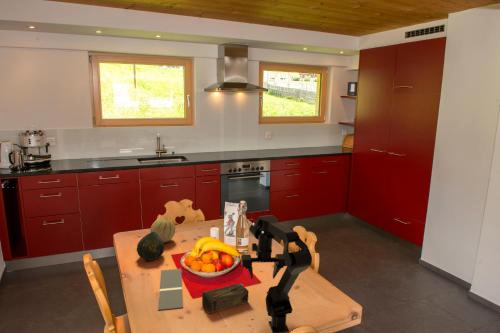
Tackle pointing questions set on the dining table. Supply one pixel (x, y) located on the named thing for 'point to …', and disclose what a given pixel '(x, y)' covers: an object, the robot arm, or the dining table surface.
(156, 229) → the cantaloupe
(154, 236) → the squash
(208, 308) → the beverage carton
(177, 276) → the strip
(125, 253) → the dining table surface
